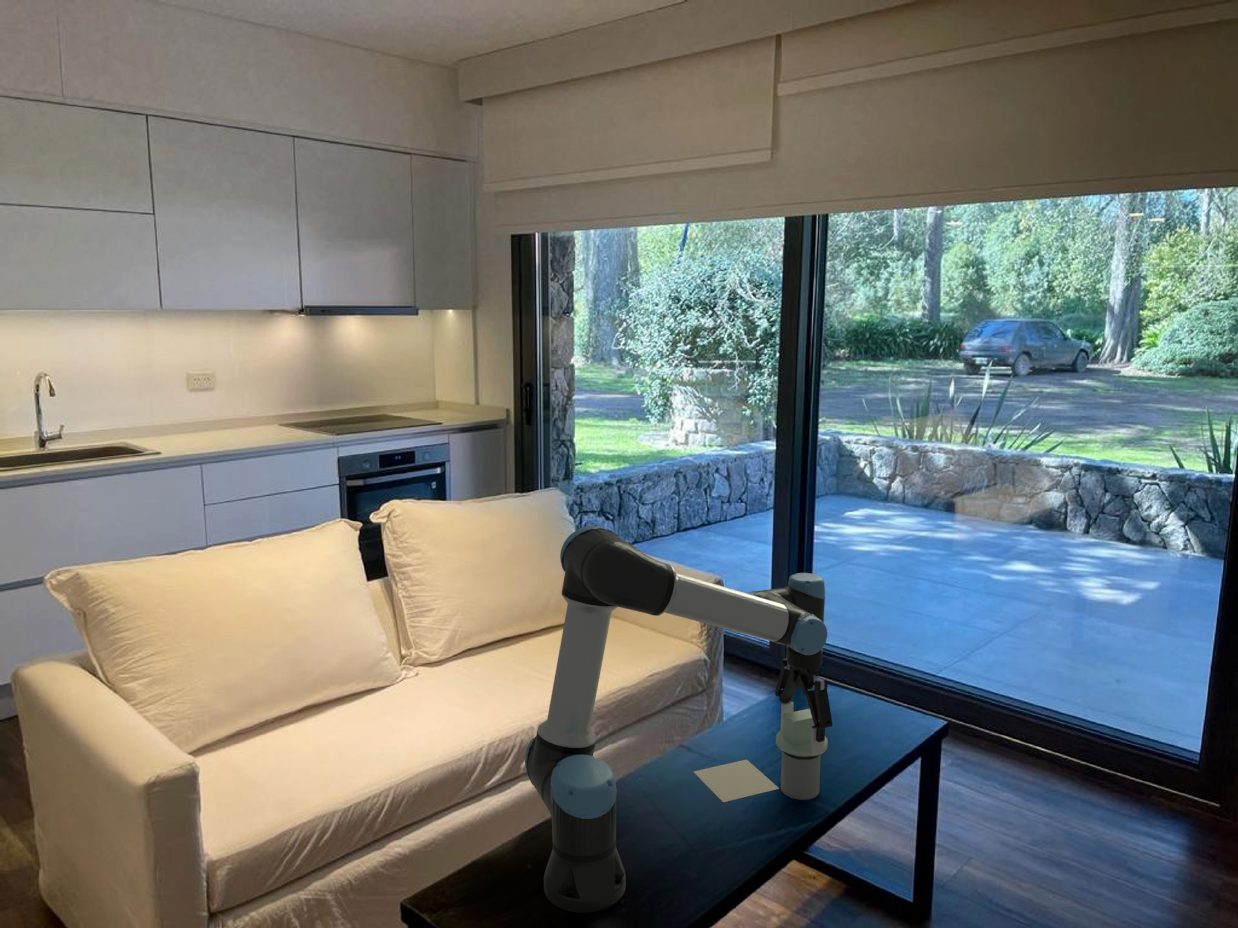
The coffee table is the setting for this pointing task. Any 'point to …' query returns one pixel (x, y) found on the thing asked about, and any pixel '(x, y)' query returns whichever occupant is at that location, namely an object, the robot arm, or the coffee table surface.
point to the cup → (800, 776)
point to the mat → (735, 780)
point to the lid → (797, 734)
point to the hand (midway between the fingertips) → (801, 741)
